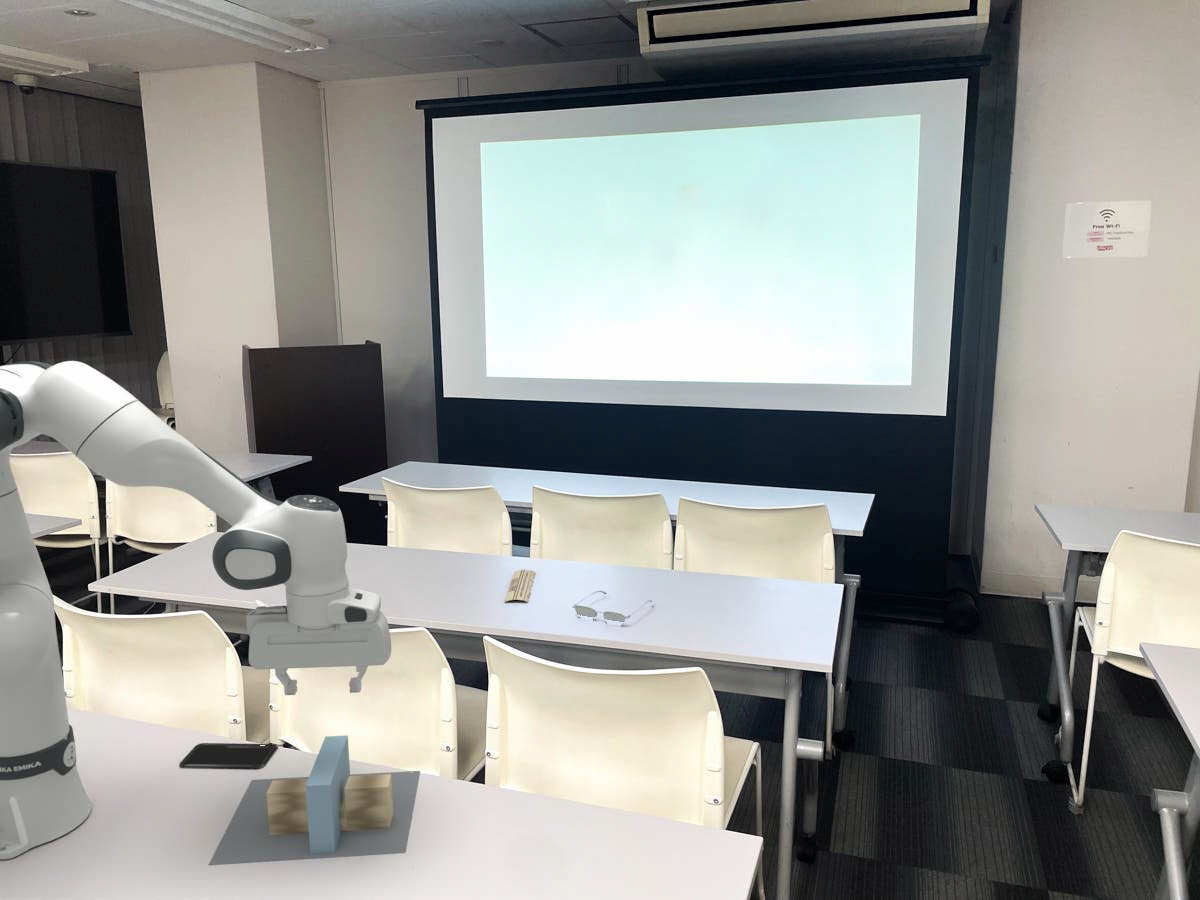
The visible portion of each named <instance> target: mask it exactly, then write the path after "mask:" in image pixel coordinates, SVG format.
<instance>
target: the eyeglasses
mask: <svg viewBox="0 0 1200 900" xmlns="http://www.w3.org/2000/svg"><path fill="white" fill-rule="evenodd" d="M596 593H602V594H604V595H605V594H607V593H608V592H606V591H603V590H596V591H594V592H593V593H591V594H590V595H588V596H587V597H585V598H583V599H582V600H580V601H579V602H578V603H575V604H573V605H572V608H573V609H575V614H576V615H577V616H578V615H580V616H581V615H582V616H587V617H595V618H596V617H597V616H598V613H600V614H603V618H604V620H605V619H607V620H612V621H619V622H624V623H625V621H626V620H628V619H629V618H630V617H631V616H632V615H634V614H635V613H637V611H639V610H640V609H641V608H642V607H643V606H645V605H646V604H647V603H648V602H650V603H651V602H652V601H653V600H652V599H648V600H647V601H645V603H644V604H643V605H642V606H640V607H639V608H638V609H637V610H636V611H633V612H632V613H631V614H628V615H624V614H623V613H620V612H615V611H611V610H609V611H608V610H607V611H604V612H603V611H599V610H598V611H597V610H596V609H594V608H592V607H590V606H585V605H580V603H581V602H582V601H584V600H585V599H587V598H588V597H590V596H592V595H594V594H596Z"/></svg>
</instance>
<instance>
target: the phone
mask: <svg viewBox="0 0 1200 900" xmlns="http://www.w3.org/2000/svg"><path fill="white" fill-rule="evenodd" d="M260 745H265V746H260ZM278 746H279V745H277V744H276V743H226V742H222V743H220V742H218V743H217V742H214V743H213V742H202V743H197V744H196V745H195V746H194V747H193V748H192V749H191V750H190V751H189V753H187V755H186V756H185V757H184V758H183V759H182V760H181V761H179V764H178V765H179V768H180V769H198V770H202V769H203V770H208V769H209V770H250V771H251V770H261V769H264V768H265V767H266V766H267V764H268V763H269V762H270V761H271V759H272V758H273V756H274V755H275V753H276V752H277V751H278V749H279V747H278Z"/></svg>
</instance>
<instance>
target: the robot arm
mask: <svg viewBox="0 0 1200 900" xmlns="http://www.w3.org/2000/svg"><path fill="white" fill-rule="evenodd" d="M42 435H45V436H47V437H51V438H53V439H55V441H57V442H58V443H60V444H62V446H63V447H64V448H66V449H67V450H68V451H69V452H70V453H72V454H73V455H74V457H76V458H77V459H78V460H80V461H81V462H82V463H83V464H84V465H85V466H86V467H88V468H89V469H90V470H92V471H93V472H95V473H96V474H97V475H99V476H101V477H102V478H104V479H106V480H107V481H110V482H112V483H114V484H116V485H118V486H122V487H131V488H132V487H133V488H138V487H143V488H144V487H155V488H156V487H159V488H167V489H174V490H177V491H180V492H183V493H186V494H188V495H190V496H191V497H192V498H194V499H196V500H197V501H198V502H199V503H201V504H202V505H203V506H205V507H206V508H208V509H209V510H210V511H211V512H213V513H215V514H216V515H217V516H219V518H222V520H223V521H225V522H227V523H228V524H229V525H230V526H231V527H230V528H229V529H227V531H225V532H224V533H223V534H222V535H221V536H220V537H219V538H218V539H217V541H216V542H215V544H214V546H213V549H212V555H211V556H212V563H213V564H212V565H213V568H214V570H215V572H216V574H217V575H218V577H219V578H220V579H221V580H222V582H224V583H225V584H226V585H228V586H230V587H232V588H233V589H236V590H241V591H250V590H251V591H253V590H259V589H264V588H265V589H266V588H271V587H276V586H279V585H284V587H285V600H286V601H285V603H286V605H274V606H265V605H264V606H263V605H261V606H256V608H254V609H252V610H250V611H249V612H248V613H247V615H246V618H245V621H246V629H247V632H248V634H249V635H250V636H249V644H248V645H249V646H248V664H249V665H250V666H251V667H252V669H254V670H274V673H275V674H274V675H275V676H276V678H277V679H278V680H279V682H280V684H281V685H282V686H283V691H284V695H285V696H295V695H296V693H297V692H298V686H297V685H298V681H297V680H298V679H292V678H291V676H290V675H289V674H288V672H287V671H288V669H311V668H313V669H314V668H334V667H335V668H340V667H341V668H342V667H355V671H356V672H357V673H358V674H357V676H354V677H350V680H349V683H348V685H349V693H350V694H355V693H361V690H362V681H363V680H362V679H363V677H364V676H365V674H366V673H367V670H368V667H369V666H371V667H372V666H384V665H385V664H386V663H387V662H388V661H389V659H390V658H391V654H392V639H391V633H390V626H389V622H388V620H387V617H386V616H385V614H384V613H383V612H382V611H380V610H381V606H382V605H381V604H382V598H381V596H380V595H379V594H377V593H375V592H372V591H367V590H363V589H360V588H356V587H353V586H350V585H349V583H350V582H349V578H348V575H347V572H346V562H347V558H348V545H347V535H346V528H345V521H344V517H343V513H342V511H341V508H340V507H339V505H338V504H337V503H336V502H335V501H333V500H330V499H329V498H327V497H324V496H319V495H312V494H304V495H303V494H302V495H299V494H298V495H294V496H290V497H289V498H287V499H286V500H285V501H281V500H278V499H275V498H272V497H271V496H270V497H269V496H267V495H265V494H263V493H262V492H260V491H258V490H257V489H255V487H252V486H251V485H250V484H248V483H247V482H246V481H244V480H243V479H242V478H240V477H239V476H238V475H236V474H235V473H234V472H233V471H231V470H230V469H229V468H227V467H226V466H224V465H223V464H222V463H221V462H219V461H218V460H216V459H215V458H214V457H213V456H211V455H210V454H209V453H207V452H205V451H204V450H203V449H201V448H200V447H199V446H197V445H195V444H193V442H191V441H189V440H188V439H187V438H186V437H184V436H183V435H181V434H180V433H178V432H177V431H175V429H173V428H172V427H171V426H169V424H167V423H166V422H165V421H164V420H162V419H161V418H160V417H159V416H157V415H156V413H154V412H153V411H152V410H150V408H148V407H147V406H146V405H145V404H144V403H142V402H141V401H140V400H139V399H138V398H136V396H134V395H133V394H131V393H130V392H129V391H128V390H126V389H125V388H124V387H122V386H121V385H119V383H117V382H115V381H114V380H113V379H111V378H110V377H108V376H107V375H105V374H104V373H102V372H100V371H98V370H97V369H96V368H93V367H92V366H90V365H88V364H86V363H84V362H81V361H76V360H66V361H62V362H58V363H55V364H54V365H53V364H49V363H47V362H42V361H41V362H40V361H33V360H32V361H18V362H14V363H12V364H6V365H0V860H10V859H12V858H15V857H17V856H20V855H21V854H24V853H25V852H27V851H29V850H30V849H33V848H35V847H37V846H40V845H43V844H46V843H48V842H51V841H54V840H56V839H58V838H60V837H62V836H64V835H66V834H68V833H70V832H71V831H73V830H74V829H76V828H77V827H78V826H80V825H81V824H82V823H83V822H84V821H86V819H87V818H88V817H89V816H90V813H91V811H92V808H93V804H92V802H91V800H90V798H89V797H88V795H87V793H86V791H85V787H84V785H83V783H82V780H81V778H80V774H79V773H80V772H79V770H78V767H77V749H76V741H75V735H74V728H73V727H72V725H71V724H70V722H69V716H68V715H69V714H68V707H67V699H66V698H67V697H66V692H65V683H64V677H63V670H62V664H61V658H60V650H59V642H58V635H57V634H58V633H57V627H56V615H55V612H56V611H55V601H54V595H53V592H52V590H51V586H50V583H49V580H48V577H47V575H46V572H45V571H46V570H45V569H44V565H43V563H42V561H41V557H40V554H39V551H38V548H37V547H36V544H35V541H34V538H33V535H32V532H31V529H30V526H29V523H28V519H27V515H26V512H25V509H24V506H23V502H22V499H21V496H20V493H19V489H18V487H17V482H16V479H15V476H14V474H13V471H12V468H11V463H10V461H11V460H10V456H11V452H12V450H13V449H14V448H17V447H19V446H23V445H24V444H27V443H28V442H30V441H31V440H34V439H35V438H37V437H40V436H42Z"/></svg>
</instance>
